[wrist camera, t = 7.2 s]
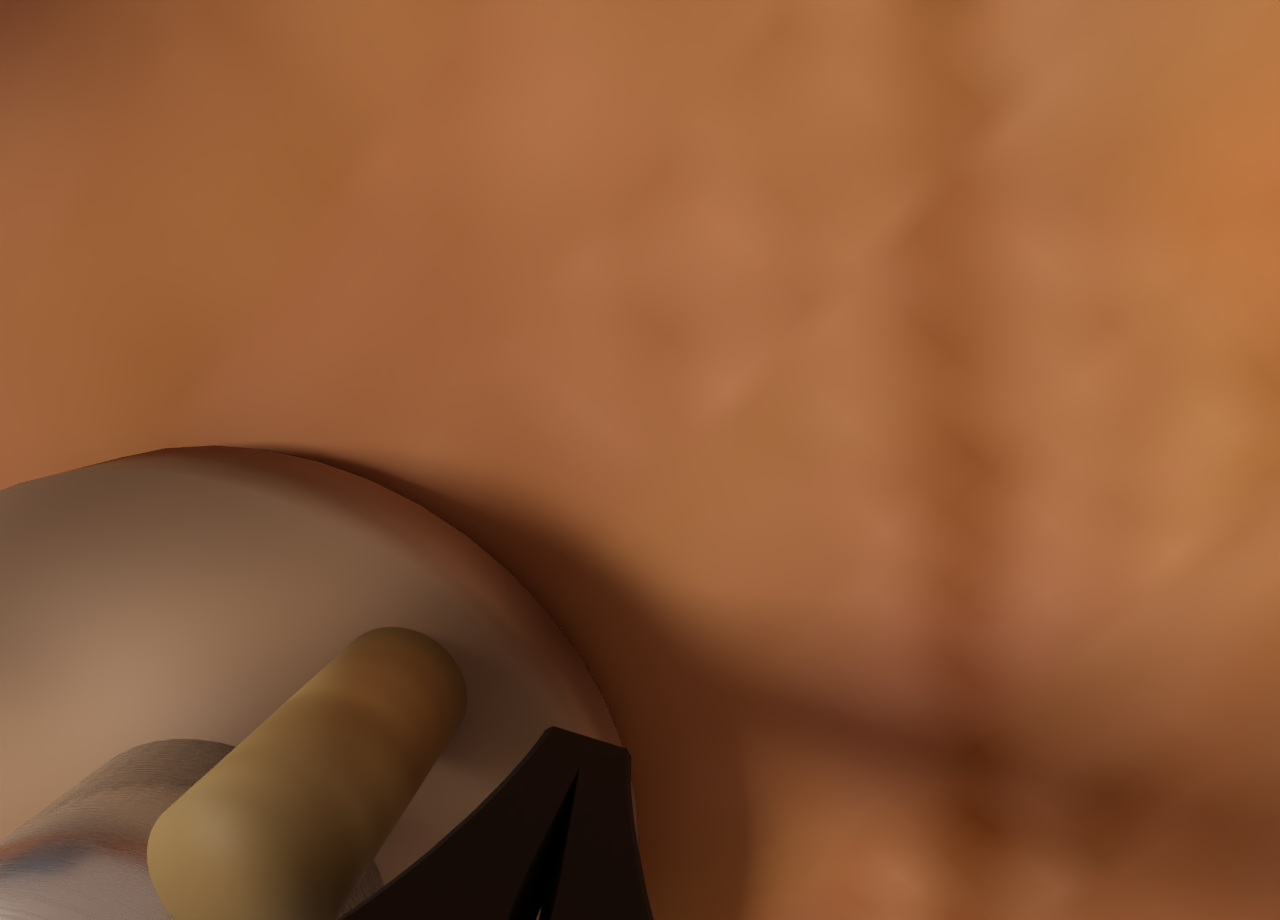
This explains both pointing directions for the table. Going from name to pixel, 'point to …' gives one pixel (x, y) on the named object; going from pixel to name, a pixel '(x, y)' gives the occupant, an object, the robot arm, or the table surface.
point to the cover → (110, 839)
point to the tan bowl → (270, 668)
